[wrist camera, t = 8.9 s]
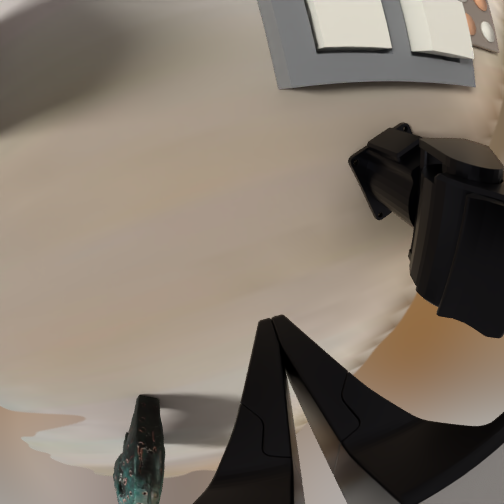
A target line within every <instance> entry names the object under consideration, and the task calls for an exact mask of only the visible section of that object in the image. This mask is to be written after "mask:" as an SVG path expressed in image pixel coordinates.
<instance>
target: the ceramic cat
mask: <svg viewBox="0 0 504 504" xmlns="http://www.w3.org/2000/svg"><path fill="white" fill-rule="evenodd" d="M164 461H165V448H164V437H163V428H162V423H161V417H160V404H159V400H158V399H156V398H151V397H145V396H142V395H139V396H138V398H137V400H136V405H135V411H134V414H133V417H132V421H131V425H130V429H129V433H126V435H125V440H124V445H123V453H122V454H121V455H120V456H119V457H118V459H117V460H116V462H115V466H114V474H113V478H114V486H115V489H116V493H117V498H118V504H159V501H160V496H161V492H162V486H163V477H164Z"/></svg>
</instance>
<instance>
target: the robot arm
mask: <svg viewBox="0 0 504 504" xmlns="http://www.w3.org/2000/svg"><path fill="white" fill-rule="evenodd" d="M403 127H405V130H404V131H403ZM355 159H356V160H357V162H356V163H355V164H354V163H353V162H354V160H355ZM348 163H349V165H350V167H351V169H352V171H353V173H354V175H355V177H356V179H357V181H358V183H359V185H360V187H361V189H362V191H363V194H364V196H365V198H366V200H367V202H368V204H369V206H370V209H371V211H372V213H373V215H374V217H375V218H376V219H377V220H382V219H383V218H385V217H386V216H387V215H389V214H390V213H391V212H393V213H395V214H396V215H397V216H399V217H400V218H401V219H403V220H404V221H405V222H407V223H408V224H409V225H411V226H412V227H413V228H414V232H413V238H412V245H411V249H410V250H409V255H408V257H409V259H410V265H409V267H410V276H411V277H412V279H413V281H414V283H415V285H416V291H417V292H418V293H419V294H420V295H421V296H422V297H423V298H424V299H425V300H427V301H428V302H430V303H431V304H433V305H435V306H437V307H438V310H437V315H438V316H441V317H447V318H453V319H456V320H459V321H461V322H464V323H466V324H467V325H469V326H471V327H472V328H474V329H475V330H477V331H478V332H480V333H481V334H483V335H485V336H487V337H493V338H501V337H502V336H503V335H504V171H503V170H504V166H503V164H502V163H501V162H500V160H499V159H498V158H497V156H496V155H495V154H494V153H493V151H492V150H491V149H490V148H489V147H488V146H486V145H483V144H480V143H476V142H473V141H470V140H466V139H457V138H422V137H420V136H416V135H413V134H412V132H411V129H410V127H409V125H408V124H407V123H400V124H398V125H397V126H395V127H394V128H388V129H387V130H385V131H384V132H382V133H381V134H379V135H378V136H376V137H375V138H373V139H372V140H370V141H369V142H368V144H367V146H365V147H364V148H362V149H361V150H359V151H358V152H356V153H355V154H353V155H352V156H351V157H350V158H349V160H348ZM380 212H381V213H380ZM379 213H380V215H378V214H379ZM286 374H287V375H286ZM287 376H288V379H289V381H290V383H291V386H292V388H293V390H294V392H295V394H296V397H297V399H298V401H299V403H300V405H301V407H302V409H303V412H304V414H305V416H306V418H307V420H308V422H309V425H310V427H311V429H312V431H313V433H314V435H315V437H316V439H317V442H318V444H319V446H320V448H321V450H322V451H323V454H324V456H325V458H326V460H327V462H328V464H329V467H330V469H331V471H332V473H333V474H334V477H335V479H336V481H337V483H338V485H339V487H340V489H341V491H342V493H343V496H344V498H345V499H346V502H347V504H504V412H503V413H502V414H501V415H500V416H499V417H497V418H496V419H495V420H494V421H492V422H491V423H489V424H486V425H483V426H464V425H456V424H448V423H440V422H433V421H427V420H423V419H420V418H418V417H415V416H413V415H411V414H410V413H408V412H406V411H404V410H403V409H401V408H400V407H398V406H396V405H395V404H393V403H391V402H389V401H388V400H386V399H385V398H383V397H382V396H380V395H379V394H377V393H376V392H374V391H372V390H371V389H370V388H368V387H367V386H366V385H364V384H363V383H362V382H360V381H359V380H358V379H357V378H356V377H354V376H353V375H352V374H351V373H350V372H348V371H347V370H346V369H345V368H344V367H343V366H341V365H340V364H339V363H338V362H337V361H336V360H334V359H333V358H332V357H331V356H330V355H329V354H328V353H326V352H325V351H324V350H323V349H322V348H321V347H319V346H318V345H317V344H316V343H315V342H314V341H313V340H311V339H310V338H309V337H308V336H307V335H306V334H305V333H304V332H302V331H301V330H300V329H299V328H298V327H297V326H296V325H294V324H293V323H292V322H291V321H290V320H289V319H288V318H287V317H285V316H284V315H278V316H274V317H272V319H270V318H267V319H264V320H260V321H259V322H258V326H257V331H256V336H255V340H254V345H253V349H252V354H251V358H250V363H249V367H248V372H247V376H246V381H245V385H244V389H243V394H242V398H241V404H240V406H239V410H238V415H237V418H236V422H235V425H234V429H233V431H232V434H231V437H230V440H229V442H228V445H227V447H226V450H225V452H224V455H223V457H222V459H221V462H220V464H219V466H218V469H217V471H216V473H215V476H214V478H213V479H212V481H211V483H210V485H209V486H208V488H207V489H206V490H205V491H204V492H203V493H202V495H201V496H200V497H199V498H198V499H197V500H196V501H195V502H194V503H193V504H305V499H304V492H303V485H302V477H301V470H300V463H299V455H298V448H297V441H296V434H295V427H294V420H293V413H292V406H291V400H290V393H289V386H288V380H287Z"/></svg>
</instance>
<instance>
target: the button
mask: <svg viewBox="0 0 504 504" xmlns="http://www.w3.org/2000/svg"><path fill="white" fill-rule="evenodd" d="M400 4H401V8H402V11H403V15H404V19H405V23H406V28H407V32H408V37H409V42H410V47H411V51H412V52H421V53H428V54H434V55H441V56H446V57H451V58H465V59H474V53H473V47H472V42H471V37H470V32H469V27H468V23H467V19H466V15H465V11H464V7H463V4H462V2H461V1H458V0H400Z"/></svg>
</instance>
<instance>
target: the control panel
mask: <svg viewBox="0 0 504 504" xmlns="http://www.w3.org/2000/svg"><path fill="white" fill-rule="evenodd" d="M257 1H258V5H259V9H260V13H261V17H262V20H263V24H264V28H265V32H266V36H267V41H268V45H269V49H270V53H271V58H272V62H273V67H274V71H275V76H276V80H277V85H278V89H287V88H296V87H304V86H313V85H322V84H333V83H347V82H369V81H409V82H430V83H443V84H453V85H462V86H470V87H476V85H475V76H474V67H473V60H472V59H465V58H451V57H446V56H441V55H434V54H428V53H421V52H412V51H411V47H410V42H409V37H408V32H407V28H406V23H405V19H404V15H403V11H402V8H401V4H400V0H381V3H382V7H383V11H384V15H385V19H386V23H387V27H388V31H389V36H390V41H391V46H392V48H389V49H382V50H375V51H365V50H339V51H316V48H315V44H314V39H313V35H312V31H311V27H310V23H309V19H308V15H307V11H306V7H305V3H304V0H257ZM458 1H460V0H458Z"/></svg>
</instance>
